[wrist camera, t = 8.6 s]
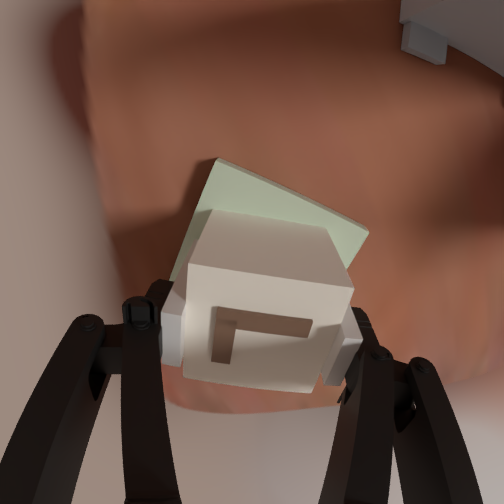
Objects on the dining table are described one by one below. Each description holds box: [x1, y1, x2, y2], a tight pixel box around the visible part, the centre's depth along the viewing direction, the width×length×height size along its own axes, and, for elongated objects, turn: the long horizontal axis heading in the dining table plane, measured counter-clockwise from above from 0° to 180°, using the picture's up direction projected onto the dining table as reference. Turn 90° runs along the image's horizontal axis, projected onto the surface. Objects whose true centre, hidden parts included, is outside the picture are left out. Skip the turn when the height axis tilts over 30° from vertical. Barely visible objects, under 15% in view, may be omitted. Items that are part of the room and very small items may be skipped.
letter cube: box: [183, 209, 354, 393], centre depth 15 cm, size 6×6×6 cm
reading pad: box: [169, 158, 369, 282], centre depth 18 cm, size 9×9×1 cm
